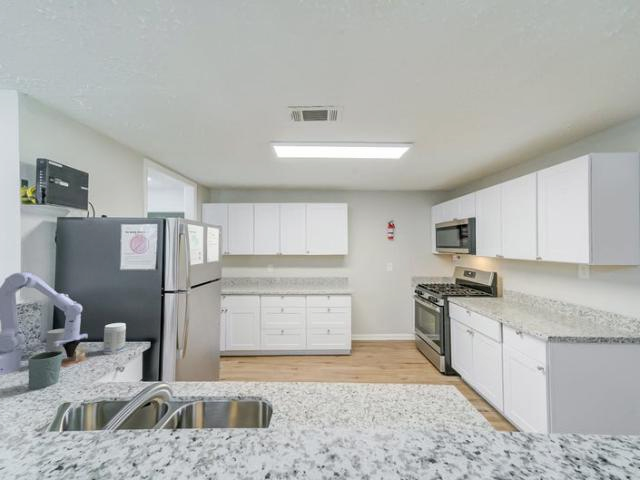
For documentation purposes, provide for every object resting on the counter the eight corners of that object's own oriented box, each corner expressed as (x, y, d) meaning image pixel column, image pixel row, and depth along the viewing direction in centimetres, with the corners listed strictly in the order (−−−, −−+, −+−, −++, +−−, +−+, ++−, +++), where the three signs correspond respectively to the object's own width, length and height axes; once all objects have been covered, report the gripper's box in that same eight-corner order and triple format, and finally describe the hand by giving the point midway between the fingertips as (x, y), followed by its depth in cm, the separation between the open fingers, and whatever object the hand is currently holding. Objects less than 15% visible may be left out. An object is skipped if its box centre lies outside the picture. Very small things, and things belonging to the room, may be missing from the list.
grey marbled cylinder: (57, 358, 139) (59, 333, 139) (39, 357, 139) (41, 332, 140) (74, 351, 148) (76, 328, 149) (57, 351, 148) (59, 328, 149)
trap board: (65, 367, 128) (65, 366, 128) (46, 365, 129) (46, 364, 130) (90, 358, 139) (90, 357, 140) (73, 356, 141) (73, 355, 141)
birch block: (75, 360, 135) (76, 351, 136) (68, 359, 136) (69, 350, 136) (84, 357, 140) (85, 348, 140) (77, 356, 140) (78, 347, 141)
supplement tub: (123, 347, 156) (125, 321, 157) (125, 352, 149) (127, 325, 150) (102, 351, 150) (104, 324, 151) (102, 356, 143) (104, 327, 144)
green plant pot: (58, 377, 118) (61, 348, 119) (62, 384, 112) (65, 354, 112) (24, 385, 110) (27, 354, 111) (26, 393, 104) (29, 361, 104)
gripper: (63, 333, 128) (60, 363, 127) (93, 325, 142) (91, 352, 141) (50, 332, 129) (48, 361, 128) (82, 324, 143) (79, 351, 142)
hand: (69, 356), depth 135 cm, fingers closed
